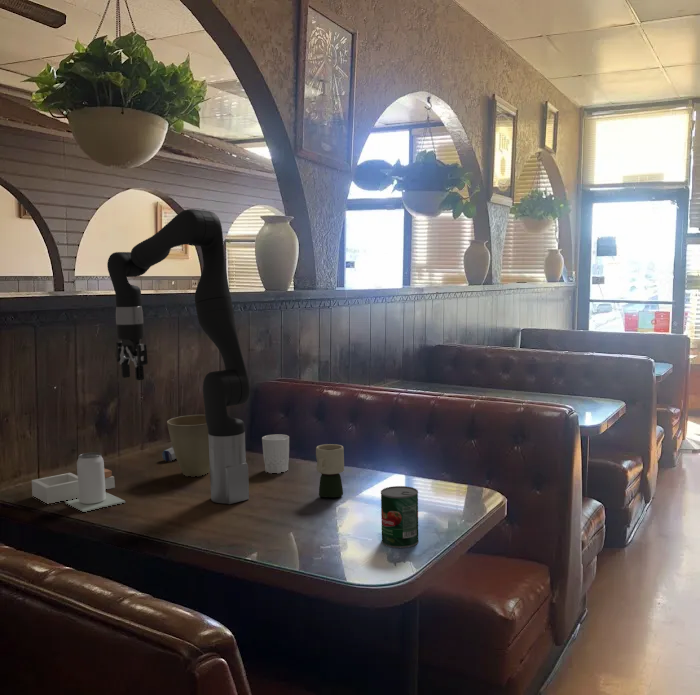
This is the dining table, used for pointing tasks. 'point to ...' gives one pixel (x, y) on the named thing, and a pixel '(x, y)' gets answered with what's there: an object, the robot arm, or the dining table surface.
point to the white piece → (61, 487)
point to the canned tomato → (399, 516)
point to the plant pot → (190, 444)
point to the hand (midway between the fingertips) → (132, 378)
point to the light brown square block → (107, 473)
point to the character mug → (330, 469)
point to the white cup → (276, 453)
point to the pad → (107, 502)
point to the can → (91, 478)
